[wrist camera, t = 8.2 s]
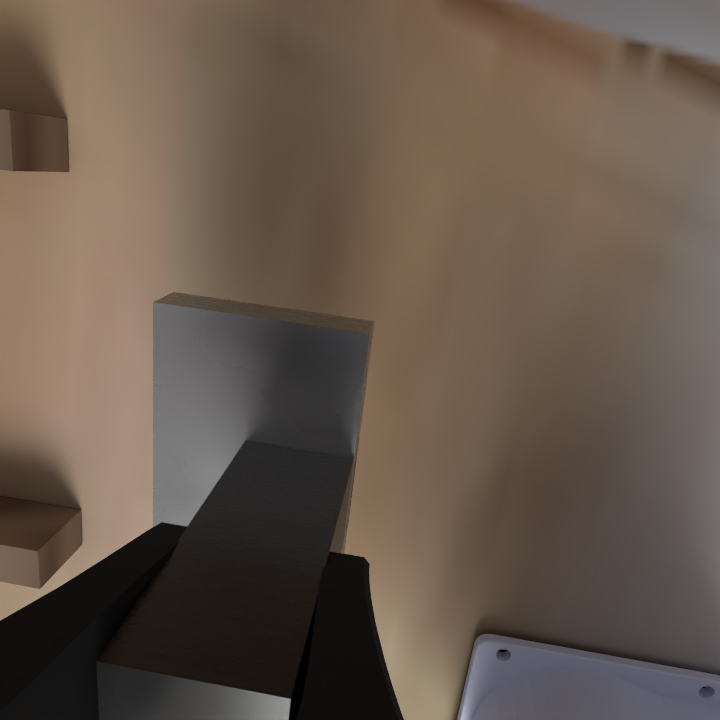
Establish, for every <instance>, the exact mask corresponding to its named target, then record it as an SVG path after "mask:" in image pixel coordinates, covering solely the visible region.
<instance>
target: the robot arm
mask: <svg viewBox="0 0 720 720" xmlns="http://www.w3.org/2000/svg"><path fill="white" fill-rule="evenodd" d="M186 528H187V526H181V525H175V524H170V523H164V522H161V523H159V524H158V525H156V526H154V527H153V528H151V529H150V530H148V531H146V532H145V533H143V534H142V535H140V536H139V537H137V538H136V539H134V540H132V541H131V542H129V543H128V544H126V545H125V546H123V547H122V548H120V549H119V550H117V551H116V552H114V553H112V554H111V555H109V556H108V557H106V558H105V559H103V560H102V561H100V562H98V563H97V564H95V565H94V566H92V567H90V568H89V569H87V570H86V571H84V572H82V573H81V574H79V575H78V576H76V577H74V578H73V579H71V580H70V581H68V582H67V583H65V584H63V585H62V586H60V587H58V588H57V589H55V590H53V591H51V592H50V593H48V594H46V595H44V596H43V597H41V598H39V599H37V600H36V601H34V602H32V603H31V604H29V605H27V606H25V607H24V608H22V609H20V610H18V611H17V612H15V613H13V614H11V615H10V616H8V617H6V618H4V619H3V620H1V621H0V720H99V710H98V686H97V663H96V661H97V660H98V658H99V657H100V655H101V654H102V652H103V651H104V649H105V648H106V646H107V645H108V643H109V642H110V641H111V639H112V638H113V636H114V635H115V633H116V632H117V630H118V629H119V627H120V626H121V624H122V623H123V621H124V620H125V618H126V617H127V615H128V614H129V612H130V611H131V609H132V608H133V606H134V605H135V603H136V602H137V600H138V599H139V597H140V596H141V595H142V593H143V592H144V590H145V589H146V587H147V586H148V584H149V583H150V581H151V580H152V578H153V577H154V575H155V574H156V572H157V571H158V569H159V568H160V566H161V565H162V564H163V563H164V562H165V560H166V559H167V558H168V557H169V555H170V554H171V553H172V551H173V550H174V548H175V547H176V545H177V544H178V542H179V541H178V540H179V538H180V537H181V535H182V534H183V532H184V531H185V529H186ZM369 565H370V564H369V563H368V562H367V560H366V559H365V558H364V557H359V556H354V555H348V554H342V553H336V552H330V555H329V558H328V561H327V563H326V566H325V567H324V568H323V571H322V574H321V577H320V584H319V591H318V599H317V606H316V613H315V620H314V628H313V635H312V642H311V649H310V657H309V664H308V671H307V676H306V682H305V687H304V692H303V697H302V701H301V704H300V708H299V712H298V715H297V719H296V720H404V719H403V716H402V714H401V711H400V708H399V705H398V702H397V699H396V696H395V693H394V689H393V686H392V683H391V680H390V677H389V673H388V670H387V667H386V663H385V659H384V655H383V651H382V647H381V644H380V640H379V636H378V632H377V627H376V623H375V618H374V612H373V606H372V600H371V593H370V584H369ZM500 649H506V650H508V651H506V652H499V651H498V650H500ZM704 686H707V687H706V688H703V689H700V688H702V687H704ZM457 720H720V675H715V674H710V673H704V672H699V671H693V670H688V669H682V668H677V667H671V666H666V665H660V664H655V663H649V662H643V661H638V660H632V659H627V658H621V657H616V656H610V655H605V654H599V653H594V652H588V651H583V650H577V649H572V648H566V647H560V646H555V645H549V644H544V643H538V642H533V641H527V640H522V639H516V638H511V637H505V636H500V635H494V634H483V635H480V636H479V637H478V638H476V640H475V642H474V647H473V651H472V656H471V660H470V664H469V669H468V673H467V678H466V682H465V686H464V691H463V695H462V699H461V704H460V708H459V713H458V717H457Z"/></svg>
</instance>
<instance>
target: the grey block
mask: <svg viewBox="0 0 720 720" xmlns="http://www.w3.org/2000/svg"><path fill="white" fill-rule="evenodd" d="M373 328H374V321H370V320H363V319H356V318H349V317H342V316H335V315H328V314H321V313H314V312H307V311H301V310H294V309H287V308H280V307H273V306H266V305H259V304H252V303H245V302H238V301H231V300H224V299H217V298H211V297H204V296H197V295H190V294H183V293H176V292H173V293H171V294H169V295H167V296H165V297H163V298H161V299H159V300H157V301H155V302H153V527H154V526H156V525H158V524H159V523H161V522H164V523H170V524H175V525H181V526H187V528H186V529H185V531H184V532H183V534H182V535H181V537H180V538H179V540H178V541H179V542H178V544H177V545H176V547H175V548H174V550H173V551H172V553H171V554H170V555H169V557H168V558H167V559H166V560H165V562H164V563H163V564H162V565H161V566H160V568H159V569H158V571H157V572H156V574H155V575H154V577H153V578H152V580H151V581H150V583H149V584H148V586H147V587H146V589H145V590H144V592H143V593H142V595H141V596H140V597H139V599H138V600H137V602H136V603H135V605H134V606H133V608H132V609H131V611H130V612H129V614H128V615H127V617H126V618H125V620H124V621H123V623H122V624H121V626H120V627H119V629H118V630H117V632H116V633H115V635H114V636H113V638H112V639H111V641H110V642H109V643H108V645H107V646H106V648H105V649H104V651H103V652H102V654H101V655H100V657H99V658H98V660H97V661H96V663H97V686H98V710H99V720H296V719H297V715H298V712H299V708H300V704H301V701H302V697H303V692H304V687H305V682H306V676H307V671H308V664H309V657H310V649H311V642H312V635H313V628H314V620H315V613H316V606H317V599H318V591H319V584H320V577H321V574H322V571H323V568H324V567H325V566H326V563H327V561H328V558H329V555H330V552H336V553H342V554H344V551H345V544H346V536H347V528H348V521H349V513H350V505H351V497H352V490H353V482H354V474H355V467H356V459H357V451H358V444H359V436H360V428H361V421H362V413H363V405H364V397H365V390H366V382H367V374H368V367H369V359H370V351H371V344H372V336H373Z"/></svg>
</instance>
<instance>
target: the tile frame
mask: <svg viewBox="0 0 720 720" xmlns="http://www.w3.org/2000/svg"><path fill="white" fill-rule="evenodd" d="M0 169H2V170H10V171H45V172H69V164H68V136H67V119H62V118H56V117H50V116H43V115H37V114H31V113H25V112H19V111H12V110H5V109H0ZM81 545H82V525H81V510H77V509H72V508H66V507H60V506H54V505H49V504H43V503H37V502H31V501H26V500H20V499H14V498H8V497H3V496H0V581H1V582H6V583H12V584H17V585H23V586H28V587H33V588H39V589H40V588H41V587H42V586H43V585H44V584H45V583H46V582H47V581H48V580H49V579H50V578H51V577H52V576H53V575H54V574H55V573H56V572H57V570H58V569H59V568H60V567H61V566H62V565H63V564H64V563H65V562H66V561H67V560H68V559H69V558H70V557H71V556H72V555H73V554H74V552H75V551H76V550H77V549H78V548H79V547H80V546H81Z"/></svg>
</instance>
